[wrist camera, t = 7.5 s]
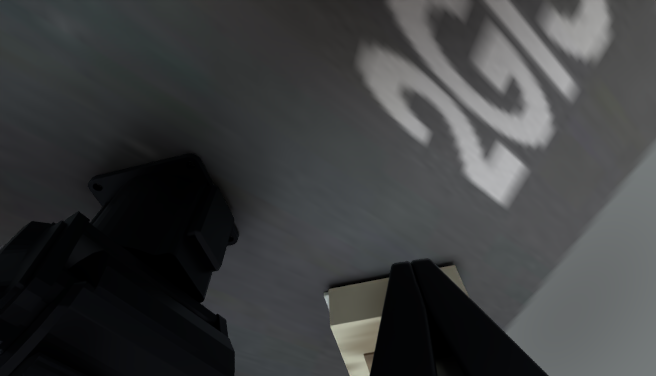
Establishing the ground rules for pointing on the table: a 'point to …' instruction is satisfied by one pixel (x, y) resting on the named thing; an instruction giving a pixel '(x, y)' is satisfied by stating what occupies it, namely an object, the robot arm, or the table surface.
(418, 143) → the table surface
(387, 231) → the table surface
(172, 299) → the robot arm
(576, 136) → the table surface
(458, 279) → the birch domino
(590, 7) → the table surface
